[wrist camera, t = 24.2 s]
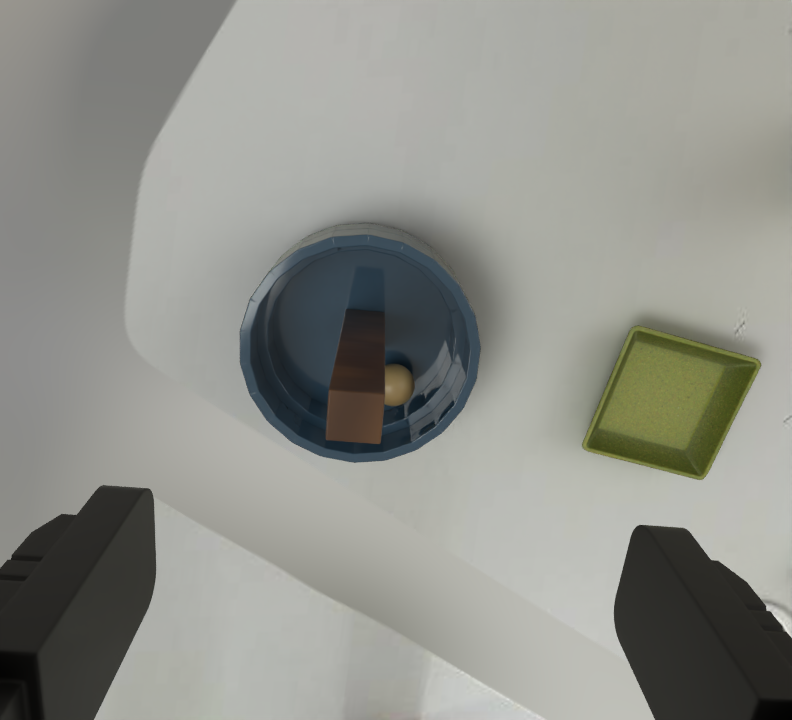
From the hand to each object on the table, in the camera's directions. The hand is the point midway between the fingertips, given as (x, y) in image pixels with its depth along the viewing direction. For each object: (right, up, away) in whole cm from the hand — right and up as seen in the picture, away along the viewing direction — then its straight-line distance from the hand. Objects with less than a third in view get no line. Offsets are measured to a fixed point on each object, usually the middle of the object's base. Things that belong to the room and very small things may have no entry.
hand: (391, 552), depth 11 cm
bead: (0, +2, +29) cm, 29 cm away
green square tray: (+17, +1, +32) cm, 36 cm away
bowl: (-2, +5, +30) cm, 31 cm away
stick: (-2, +5, +29) cm, 30 cm away
